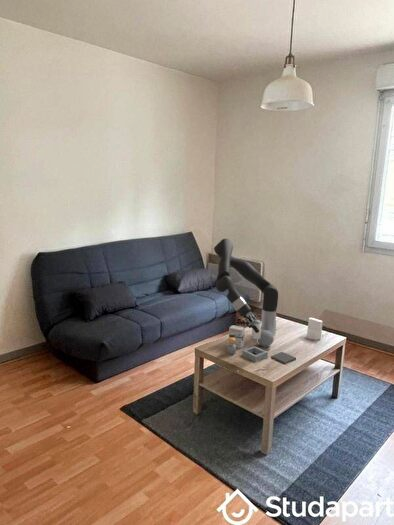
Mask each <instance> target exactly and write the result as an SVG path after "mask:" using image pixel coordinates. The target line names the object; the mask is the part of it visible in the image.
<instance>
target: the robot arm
mask: <svg viewBox="0 0 394 525" xmlns="http://www.w3.org/2000/svg"><path fill="white" fill-rule="evenodd" d="M233 248H234V246H233V243H232V241H231V240H230V239H228V238H222V239H220V241H219V242H218V243H217V244H216V245H215V246H214V248H213V250H214V253H215V254H216V255H217V256H218V257H219V258H220V259H219V263H218V267H217V268H218V269H217V271H218V274H217V277H216V279H215V288H216V290H217V291H218V292H219V293H224V292H226V291H228V293H227V294H226V298H227V300H228V301H229V303H230V304H231V305H232V307H233V308H234V310H235V311H236V312H237V313H238V315H239V316H240V317H243V320H242V322H243V323H244V325H246V326H247V328H249V329H252V328H253V330H254V331H255V332H256V333H258V332H259V330H258V328H257V327H256V326H255V324H254V321H253V320H260V321H261V331H262V330H268V331H270V332H271V333H272V335H273V337H274V336H275V335H276V333H277V332H276V331H277V309H278V304H279V292H278V289H277V287H276V286H275V285H274V284H272V283H271V282H269V281H268V280H267V279H266V278H264V276H263V275H262V274H261V273H260V272H259V271H258V270H257V269H256V268H255V267H254V266H253V265H252V264H251V263H249V261H246V260H243V259H241V258H236V257H233V256H232V253H233ZM231 267H232V268H233V269H234V270H235V271H236V272H237V273H238V274H239V275H241V277H243V278H244V279H245V280H246V281H247V282H249V283H252V284H253V285H254V286H255V287H257V288H258V290H260V292H261V293H262V294H263V296H262V297H263V300H262V305H261V306H262V308H261V319H259V317H258V315H257V314H256V312H255V311H253V312H252V311H251V310H252V308H251V306H250V305H249V304H248V302H247V301H246V299H244V298H243V296H241V294H240V293H239V292H238V290H237V288H236V285H235V282H234V281H233V279H232V277H230V275H231Z"/></svg>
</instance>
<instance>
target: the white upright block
mask: <svg viewBox="0 0 394 525" xmlns="http://www.w3.org/2000/svg"><path fill="white" fill-rule="evenodd" d="M307 323H308V324H307V330H306V333H307V334H306V337H307V338H308V339H310V338H311V340H314V339H318V340H321V339H322V334H323V332H322V331H323V320H321V319H317V318H314V317H309V318H308V322H307Z"/></svg>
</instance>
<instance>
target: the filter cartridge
mask: <svg viewBox="0 0 394 525" xmlns="http://www.w3.org/2000/svg"><path fill="white" fill-rule="evenodd" d="M253 321H254V324H255V326H256V327H257V328H258V330H259V332H258V333H256V332H255V331H254V330H253V328H251V339H254V340H257V339H260V338H261V319H259V320H253Z"/></svg>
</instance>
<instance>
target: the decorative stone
mask: <svg viewBox="0 0 394 525" xmlns="http://www.w3.org/2000/svg"><path fill="white" fill-rule="evenodd" d="M256 341H257V343H258V344H259V345H260V346H261V347H265V348H267V347H270V346H271V345H272V344H273V342H274V336H273V335H272V333H271V332H270V331H268V330H262V331H261V338H260V339H256Z"/></svg>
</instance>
